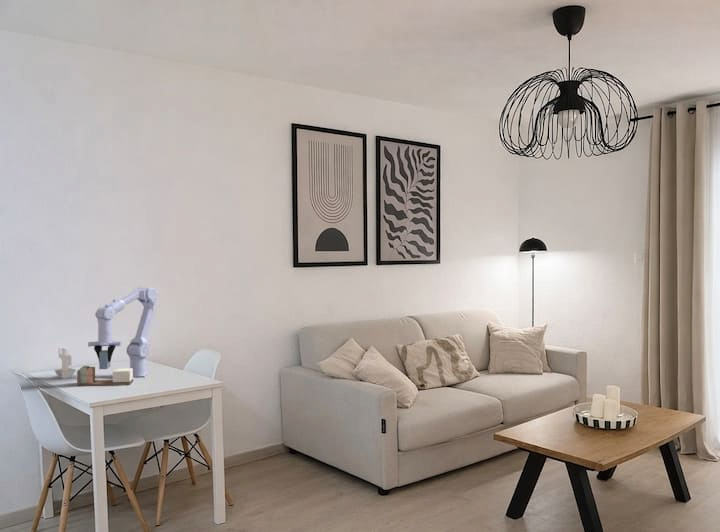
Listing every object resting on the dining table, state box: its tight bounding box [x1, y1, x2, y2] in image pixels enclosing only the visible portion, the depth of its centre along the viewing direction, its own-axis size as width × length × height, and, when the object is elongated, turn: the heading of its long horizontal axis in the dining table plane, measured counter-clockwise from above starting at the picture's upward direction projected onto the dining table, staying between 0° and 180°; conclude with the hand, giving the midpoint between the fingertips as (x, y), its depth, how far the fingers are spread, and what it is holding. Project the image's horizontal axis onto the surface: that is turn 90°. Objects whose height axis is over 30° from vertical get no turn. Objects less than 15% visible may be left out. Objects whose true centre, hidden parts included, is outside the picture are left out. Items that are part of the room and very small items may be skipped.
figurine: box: [54, 346, 77, 379], centre depth 302 cm, size 7×9×15 cm
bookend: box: [112, 367, 134, 382], centre depth 290 cm, size 7×8×5 cm
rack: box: [76, 365, 134, 387], centre depth 289 cm, size 8×23×8 cm, turn 99°
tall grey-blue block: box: [98, 349, 111, 370], centre depth 291 cm, size 6×4×8 cm, turn 8°
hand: (104, 361), depth 291 cm, fingers closed on tall grey-blue block, 3 cm apart
